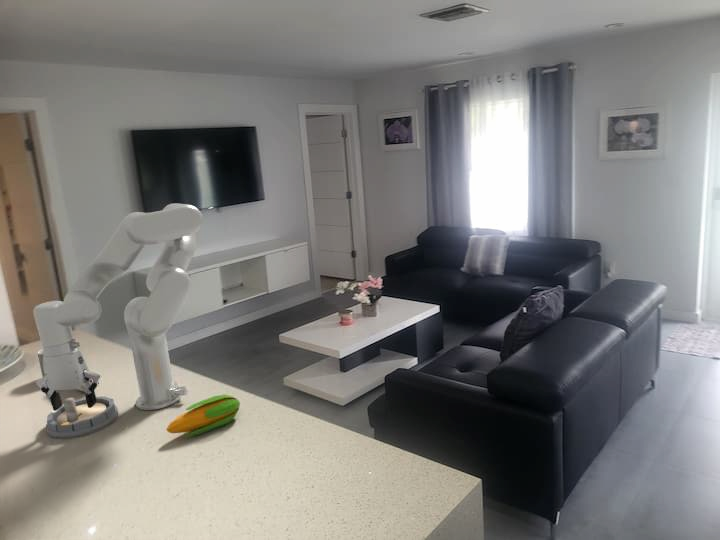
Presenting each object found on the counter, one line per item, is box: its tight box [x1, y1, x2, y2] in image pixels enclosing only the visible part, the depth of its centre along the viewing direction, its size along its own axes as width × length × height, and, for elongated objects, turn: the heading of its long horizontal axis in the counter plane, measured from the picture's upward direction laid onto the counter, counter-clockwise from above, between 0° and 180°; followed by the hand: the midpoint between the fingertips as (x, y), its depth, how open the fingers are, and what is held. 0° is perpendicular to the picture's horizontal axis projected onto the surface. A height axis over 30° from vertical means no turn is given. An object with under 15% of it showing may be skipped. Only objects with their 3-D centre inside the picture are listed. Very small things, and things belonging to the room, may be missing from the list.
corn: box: [165, 394, 241, 438], centre depth 143 cm, size 7×8×20 cm
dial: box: [57, 397, 106, 423], centre depth 152 cm, size 12×12×7 cm
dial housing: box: [45, 396, 119, 440], centre depth 153 cm, size 18×18×4 cm
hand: (75, 406), depth 149 cm, fingers open, 9 cm apart
